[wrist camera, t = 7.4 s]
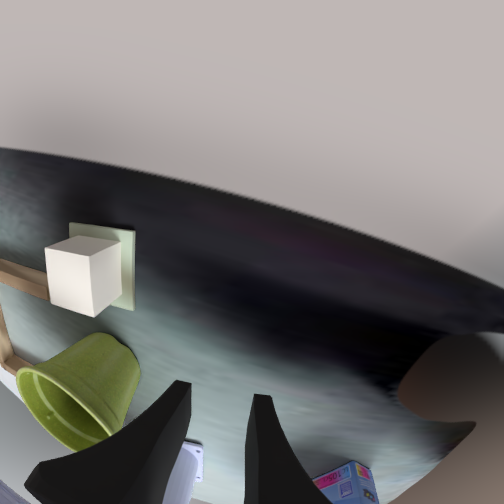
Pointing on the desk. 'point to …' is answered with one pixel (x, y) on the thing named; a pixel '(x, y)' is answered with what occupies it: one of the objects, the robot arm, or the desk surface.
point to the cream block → (84, 273)
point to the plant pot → (82, 390)
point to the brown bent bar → (39, 287)
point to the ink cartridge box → (348, 485)
